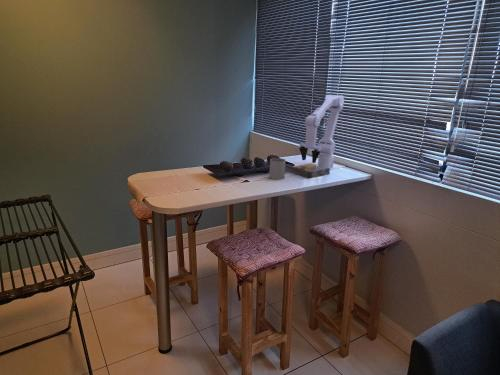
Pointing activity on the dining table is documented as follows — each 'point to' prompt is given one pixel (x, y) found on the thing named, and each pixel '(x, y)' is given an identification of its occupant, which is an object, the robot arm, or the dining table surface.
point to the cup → (277, 168)
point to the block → (308, 167)
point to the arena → (307, 173)
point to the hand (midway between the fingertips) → (308, 161)
